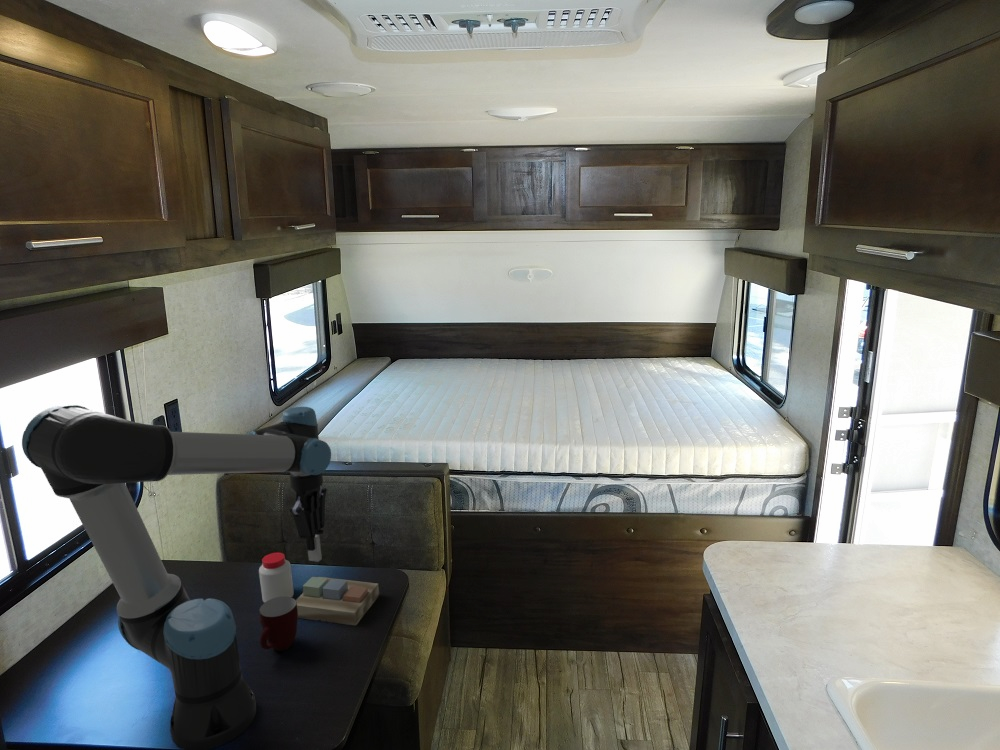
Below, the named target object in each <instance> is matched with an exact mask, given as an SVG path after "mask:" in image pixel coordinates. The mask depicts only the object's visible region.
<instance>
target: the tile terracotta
mask: <svg viewBox="0 0 1000 750" xmlns="http://www.w3.org/2000/svg"><path fill="white" fill-rule="evenodd" d="M367 594H368V588H364V587H355V586H351V587H350V588H349V590H348V591H347V592H346V593H345V594H344V595H343V599H344V601H347V602H355V603H361V602H362V601H363V599H364V598H365V597H366V596H367Z"/></svg>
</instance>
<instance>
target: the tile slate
mask: <svg viewBox="0 0 1000 750" xmlns="http://www.w3.org/2000/svg"><path fill="white" fill-rule="evenodd" d="M336 579H337V578H334V579H331V580H330V581H329V582H328V583H327V584H326V585H325V586H324V587H323V597H324V599H331V600H339V601H340V600H341V599H342V598H343V595H344V594H345V593H346V592H347V591H348V585H347V581H345V580H346V579H343V580H336Z"/></svg>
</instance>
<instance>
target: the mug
mask: <svg viewBox="0 0 1000 750" xmlns="http://www.w3.org/2000/svg"><path fill="white" fill-rule="evenodd" d="M296 600H297V599H296V598H293V597H292V598H291V597H277V598H273V599H271V600H269V601H267V602H265V603H264V602H263V604H261V605H260V606H259V609H258V612H259V620H260V624H261V627H262V631H261V633H260V634H261V635H260V639H259V642H260V646H261V648H262V649H264V650H270V649H274V650H275V651H278V652H282V651H285V650H287V649H289V648H290V647H292V645H293V643H294V640H295V638H296V635H297V631H298V630H297V629H298V628H297V627H298V610H297V603H296Z"/></svg>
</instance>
